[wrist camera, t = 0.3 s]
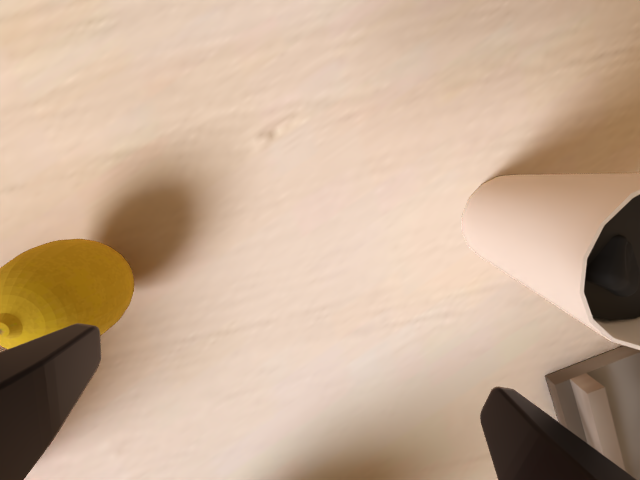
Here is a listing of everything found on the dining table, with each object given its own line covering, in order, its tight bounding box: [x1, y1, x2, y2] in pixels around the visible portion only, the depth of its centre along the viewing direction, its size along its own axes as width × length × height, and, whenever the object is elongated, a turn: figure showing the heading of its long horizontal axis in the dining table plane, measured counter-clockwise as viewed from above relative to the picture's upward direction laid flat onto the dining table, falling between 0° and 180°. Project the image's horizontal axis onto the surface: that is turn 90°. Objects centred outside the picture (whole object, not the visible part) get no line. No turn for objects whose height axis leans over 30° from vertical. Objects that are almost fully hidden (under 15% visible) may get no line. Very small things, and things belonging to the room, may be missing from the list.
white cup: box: [462, 173, 640, 350], centre depth 16 cm, size 7×7×10 cm
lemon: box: [0, 239, 134, 349], centre depth 17 cm, size 6×6×8 cm
